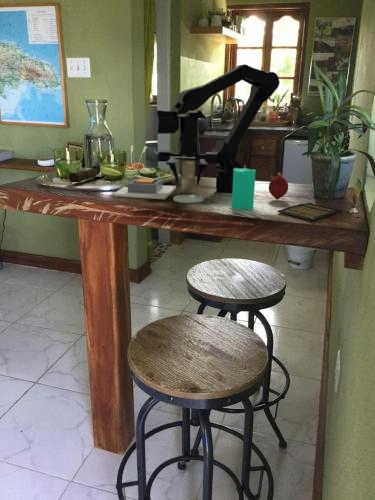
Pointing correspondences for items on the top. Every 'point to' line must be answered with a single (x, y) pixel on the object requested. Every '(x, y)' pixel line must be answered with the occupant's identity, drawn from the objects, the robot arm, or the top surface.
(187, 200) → the mat
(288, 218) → the top surface
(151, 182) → the button
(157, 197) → the white flat square slab
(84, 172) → the dark brown elongated bar
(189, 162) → the tan cylinder
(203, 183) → the top surface
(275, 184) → the onion
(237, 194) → the candle
